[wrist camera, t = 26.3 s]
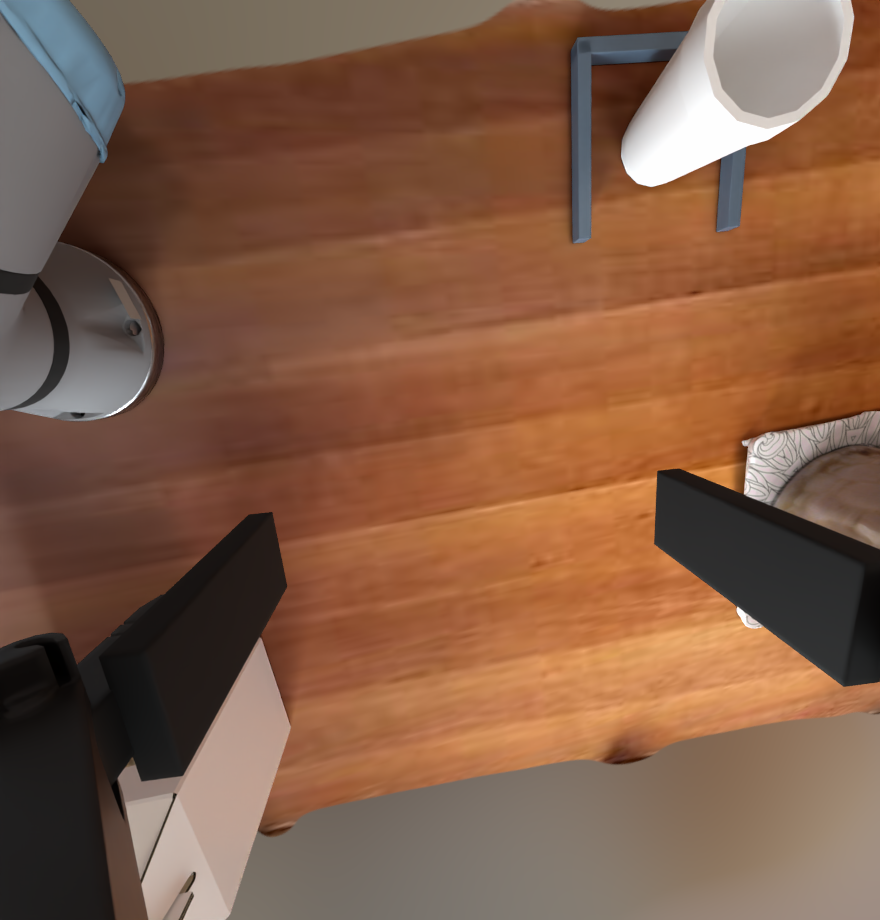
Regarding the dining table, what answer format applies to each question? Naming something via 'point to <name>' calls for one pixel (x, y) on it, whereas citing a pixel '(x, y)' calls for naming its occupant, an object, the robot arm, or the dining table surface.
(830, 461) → the cookie jar
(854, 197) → the dining table surface
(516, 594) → the dining table surface
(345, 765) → the dining table surface
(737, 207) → the bay
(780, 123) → the foam cup
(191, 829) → the gable box
